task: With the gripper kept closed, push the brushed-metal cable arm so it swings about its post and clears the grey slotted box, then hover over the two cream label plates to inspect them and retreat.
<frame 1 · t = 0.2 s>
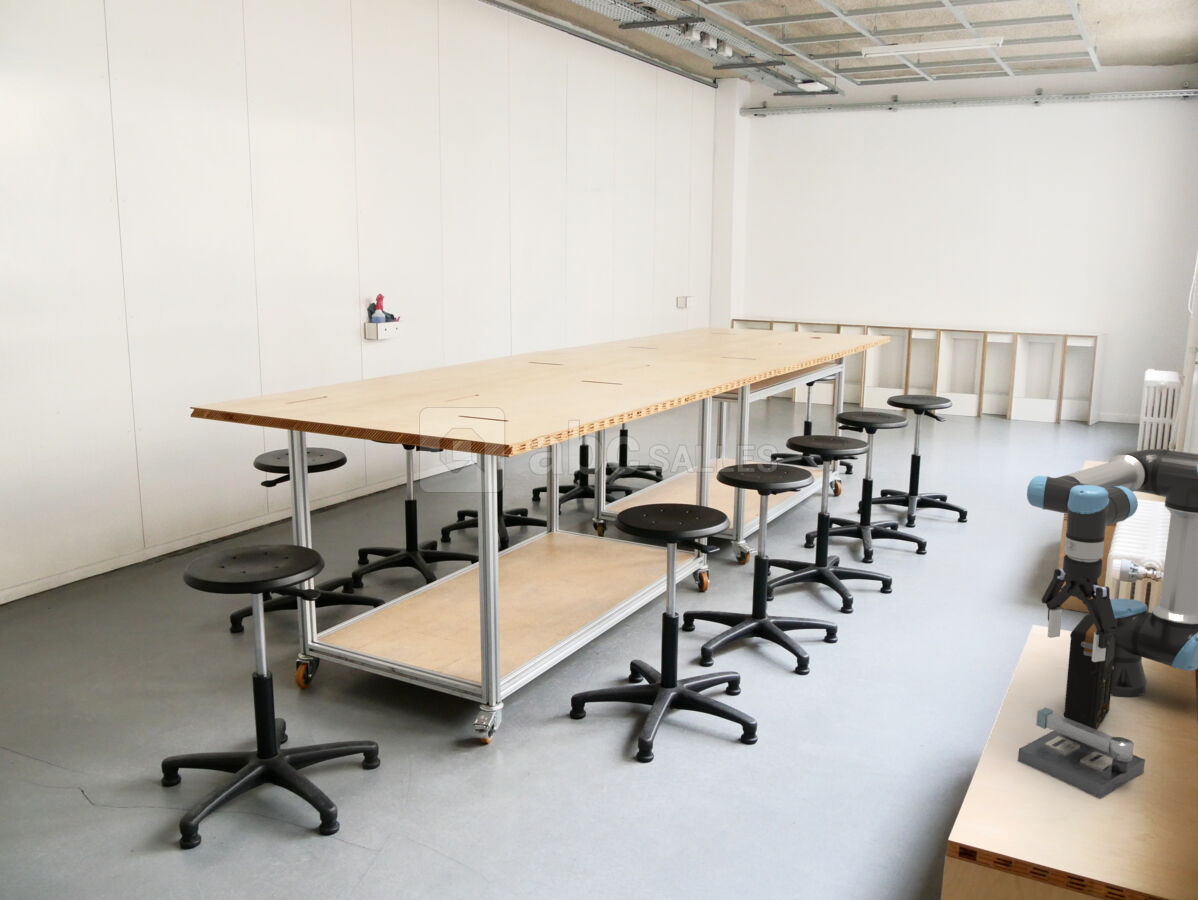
hand: (1075, 648, 211), 27 cm above the bench, fingers open, 13 cm apart
grey slotted box: (1079, 766, 214), on the bench
cable arm: (1084, 734, 212), point 8 cm above the bench, hinge at 0.0°
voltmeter: (1087, 719, 236), on the bench
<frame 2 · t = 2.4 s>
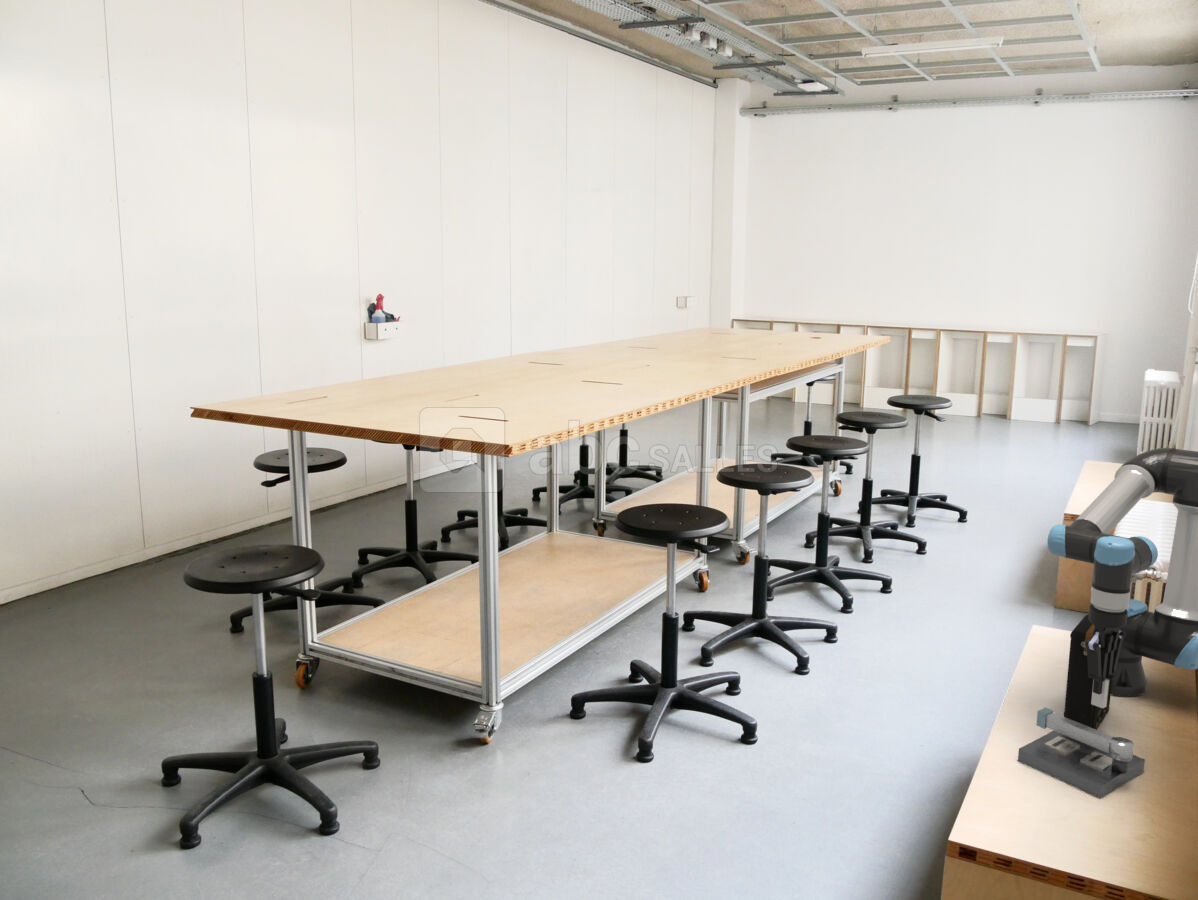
hand: (1098, 705, 216), 13 cm above the bench, fingers closed
nothing on the bench moved.
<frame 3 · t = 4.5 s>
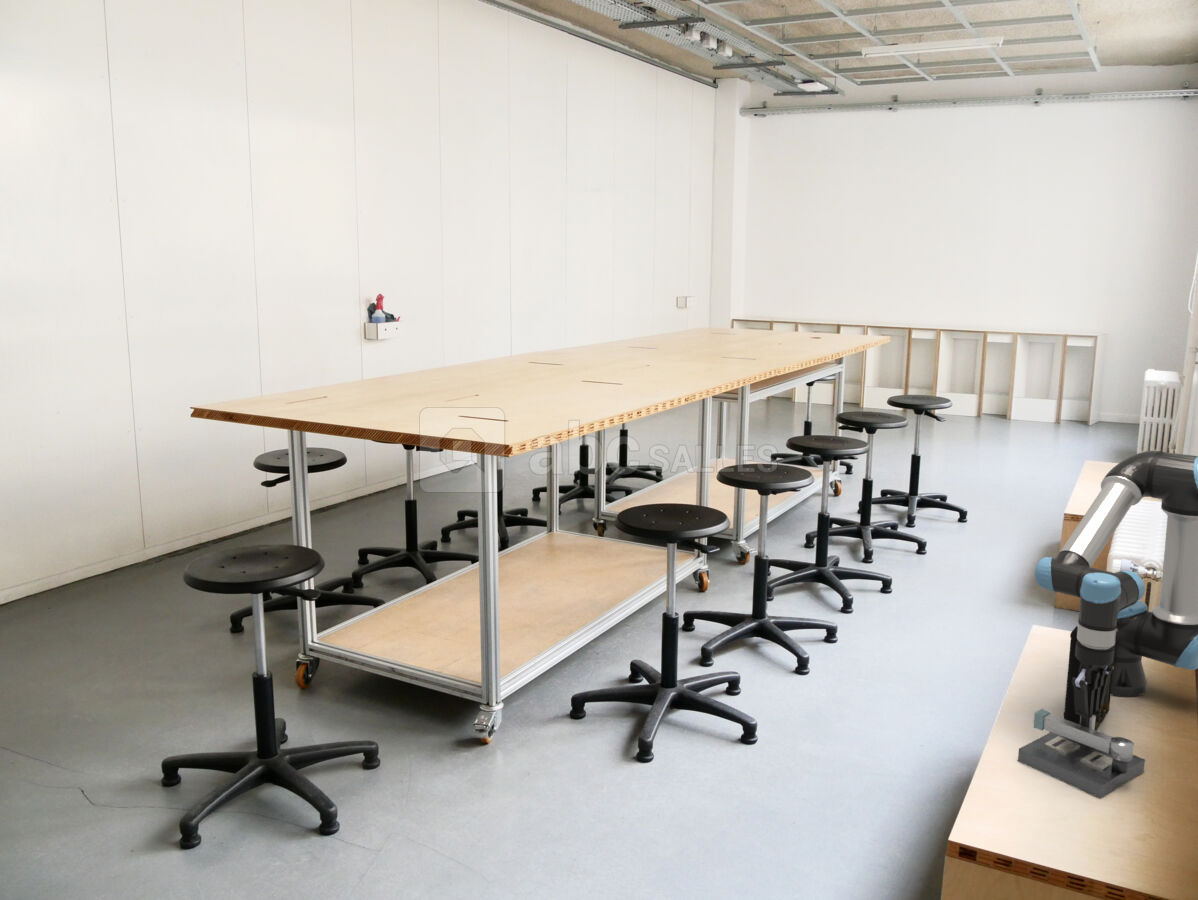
hand: (1085, 740, 215), 5 cm above the bench, fingers closed
cable arm: (1083, 734, 212), point 8 cm above the bench, hinge at 4.3°, touching gripper
everything else where it was.
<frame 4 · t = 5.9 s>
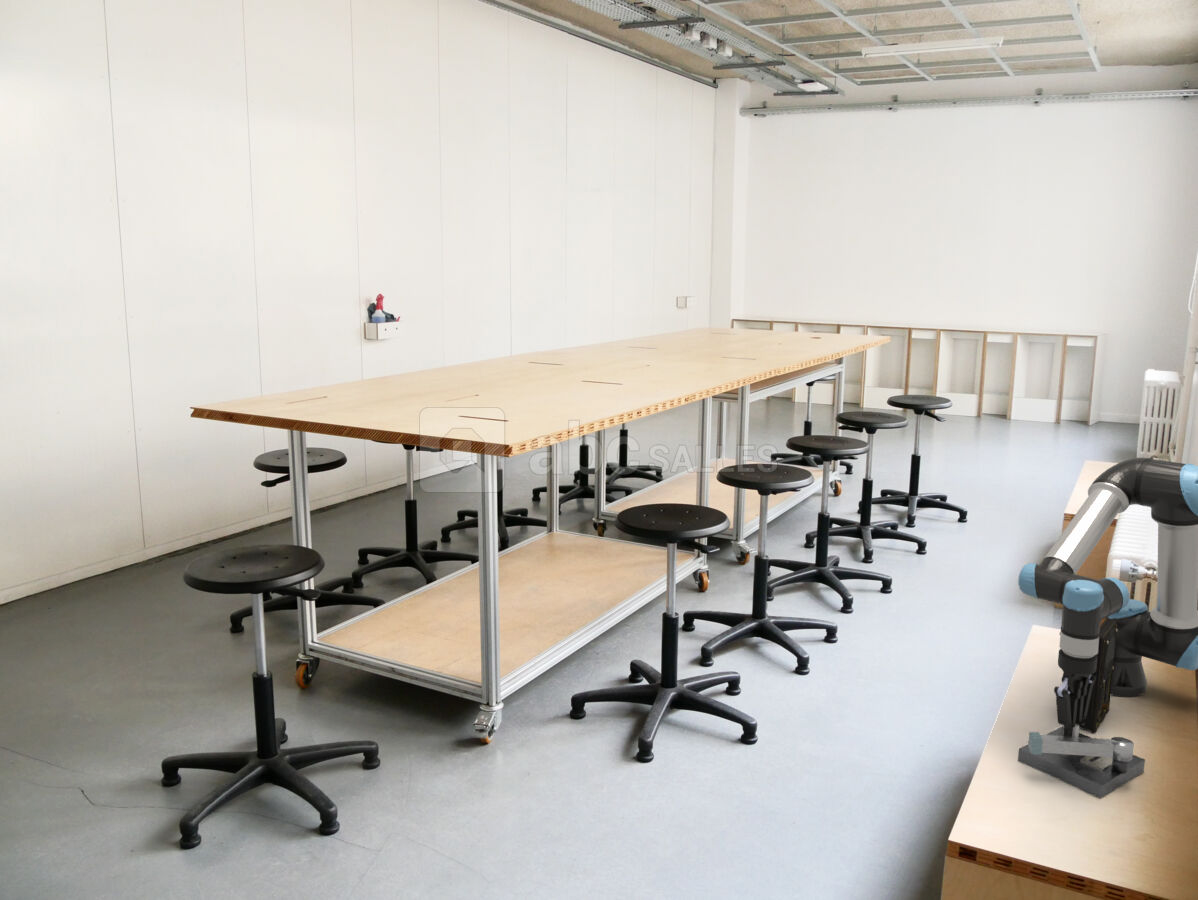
hand: (1069, 751, 211), 5 cm above the bench, fingers closed
cable arm: (1081, 746, 207), point 8 cm above the bench, hinge at 45.3°, touching gripper
everything else where it was.
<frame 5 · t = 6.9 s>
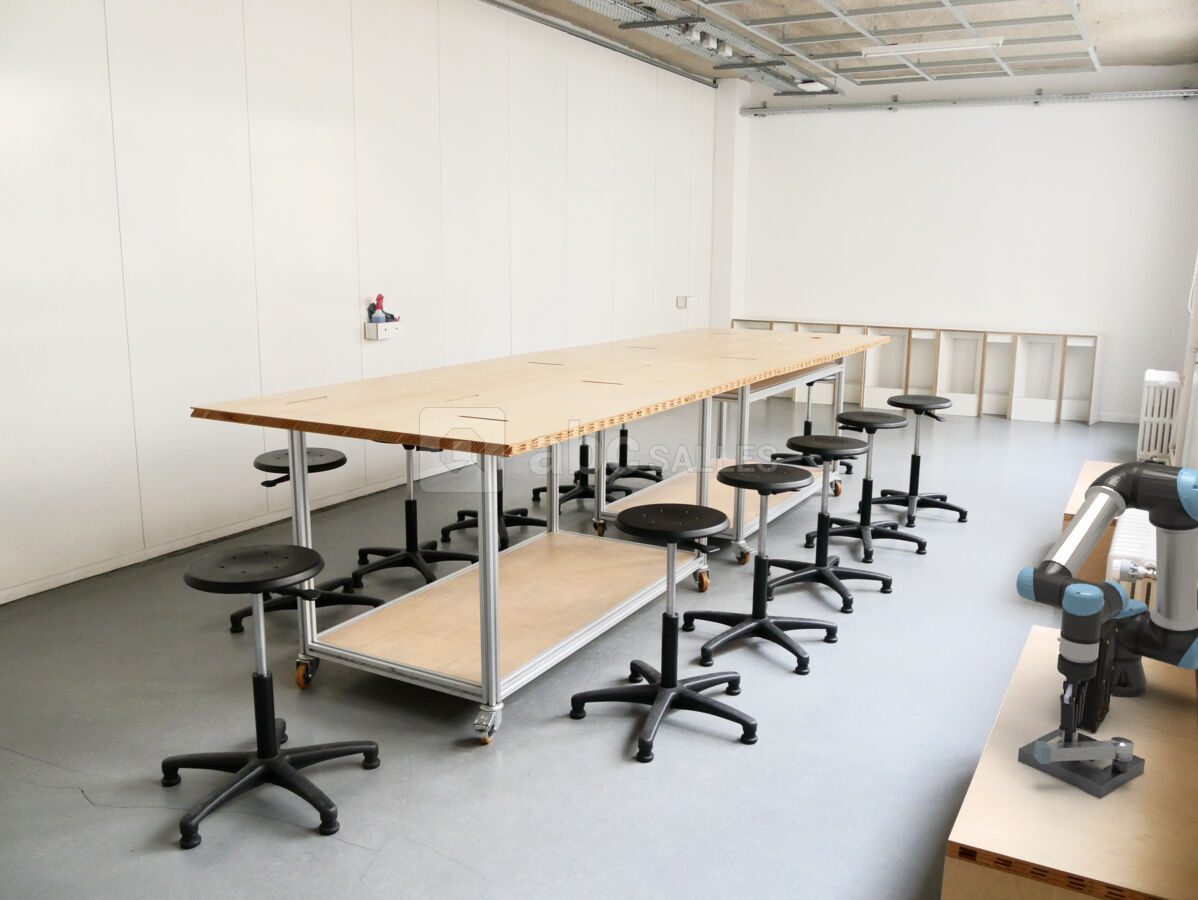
hand: (1068, 756, 209), 5 cm above the bench, fingers closed
cable arm: (1084, 750, 205), point 8 cm above the bench, hinge at 58.5°, touching gripper
everything else where it was.
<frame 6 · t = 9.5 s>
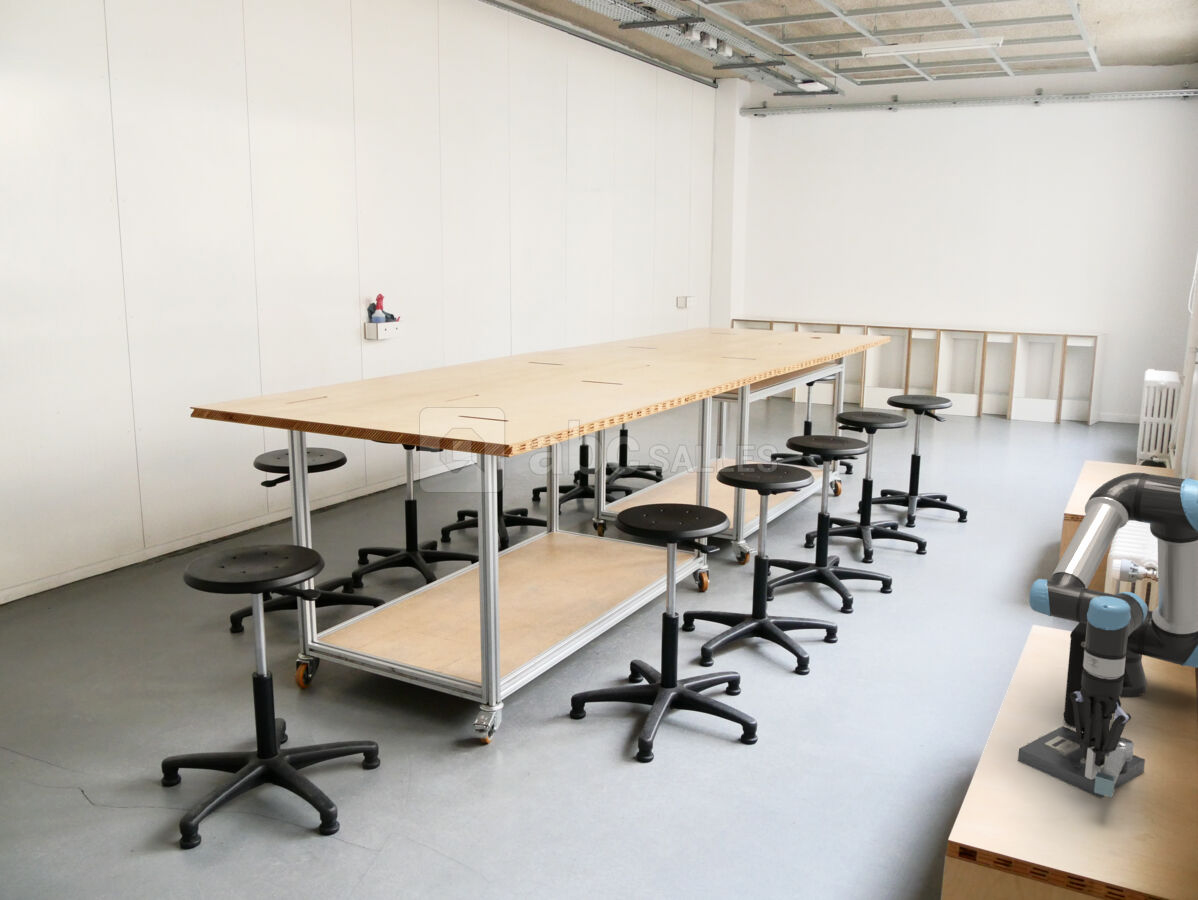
hand: (1092, 776, 201), 5 cm above the bench, fingers closed
cable arm: (1113, 765, 200), point 8 cm above the bench, hinge at 107.4°
everything else where it was.
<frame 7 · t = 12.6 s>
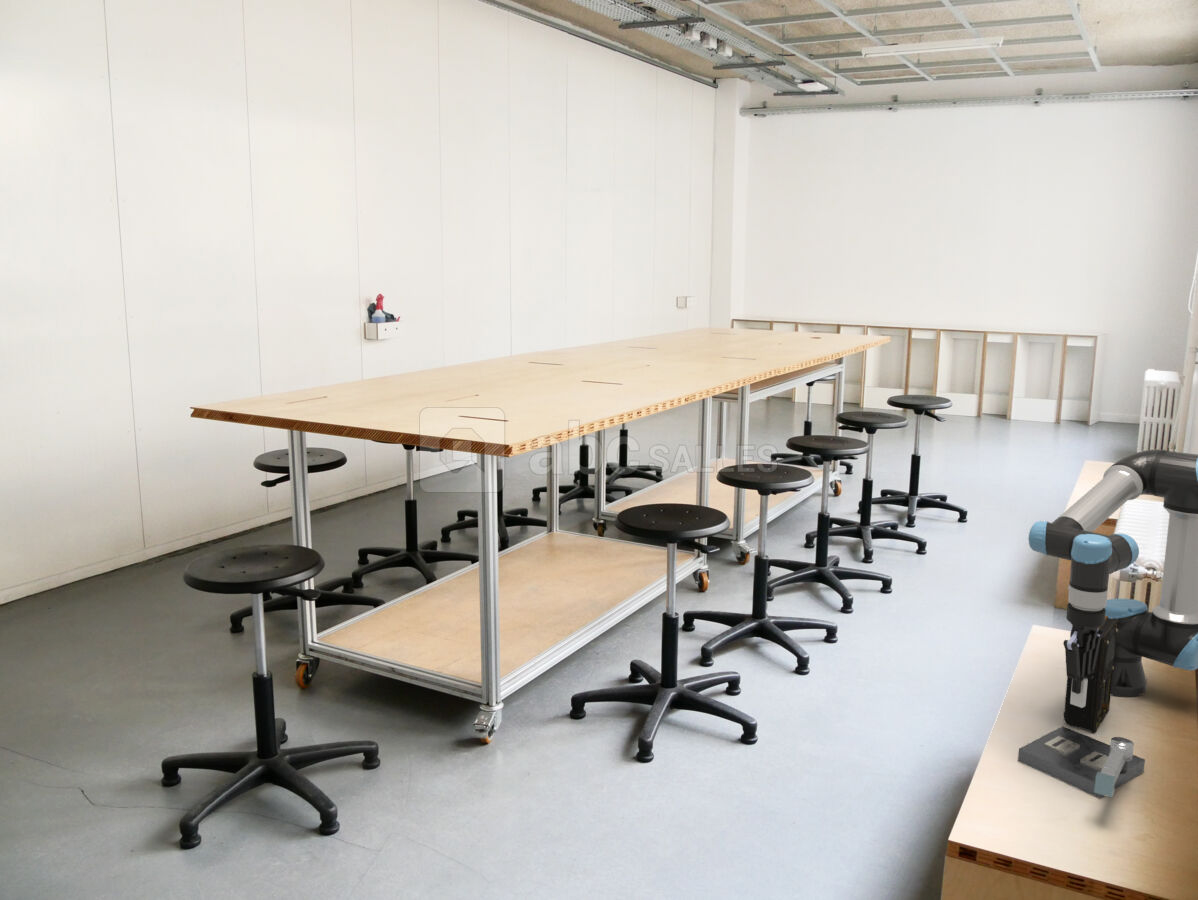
hand: (1077, 704, 213), 14 cm above the bench, fingers closed
nothing on the bench moved.
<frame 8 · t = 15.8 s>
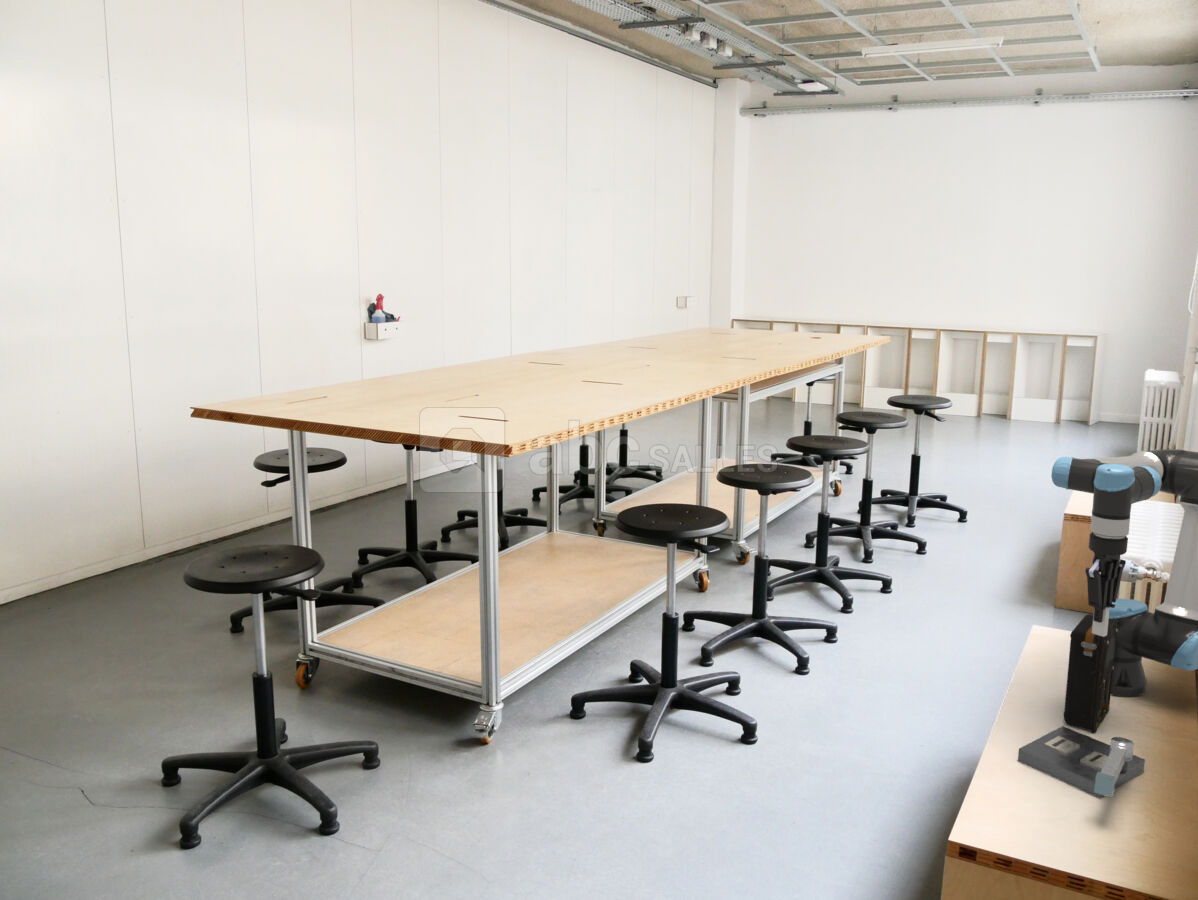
hand: (1099, 634, 216), 28 cm above the bench, fingers closed
nothing on the bench moved.
at the end: cable arm at +107° (first picture: +0°); cable arm touching nothing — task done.
